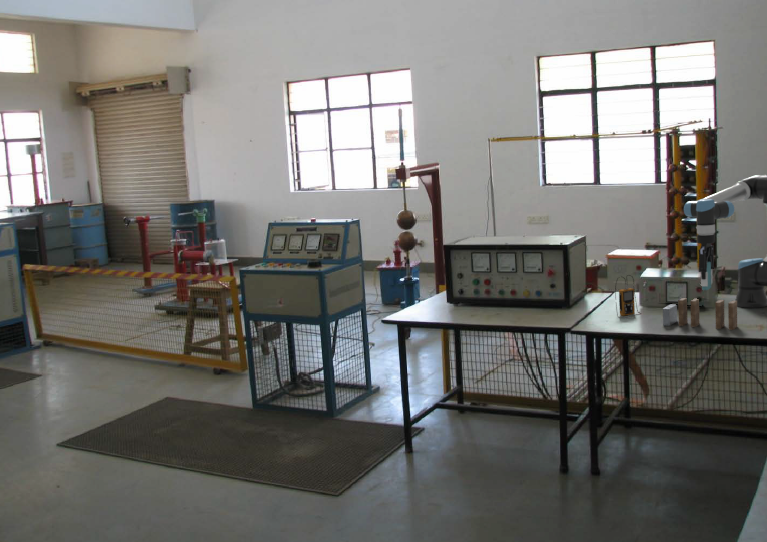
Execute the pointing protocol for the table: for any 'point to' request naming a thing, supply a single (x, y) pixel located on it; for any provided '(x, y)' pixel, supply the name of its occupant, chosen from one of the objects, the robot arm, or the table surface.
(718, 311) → the tile
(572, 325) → the table surface
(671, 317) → the bar
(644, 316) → the table surface
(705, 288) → the tile
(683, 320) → the tile
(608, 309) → the table surface
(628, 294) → the multimeter
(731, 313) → the tile
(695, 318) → the tile
